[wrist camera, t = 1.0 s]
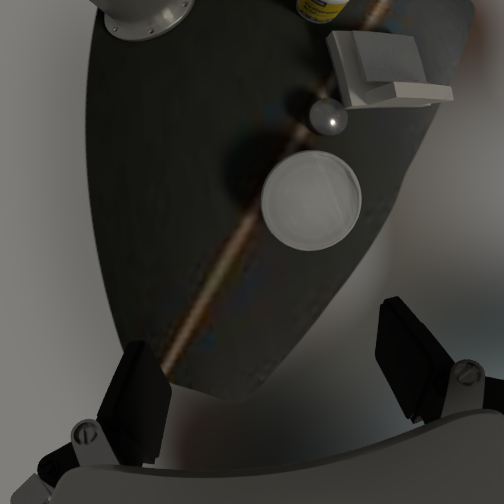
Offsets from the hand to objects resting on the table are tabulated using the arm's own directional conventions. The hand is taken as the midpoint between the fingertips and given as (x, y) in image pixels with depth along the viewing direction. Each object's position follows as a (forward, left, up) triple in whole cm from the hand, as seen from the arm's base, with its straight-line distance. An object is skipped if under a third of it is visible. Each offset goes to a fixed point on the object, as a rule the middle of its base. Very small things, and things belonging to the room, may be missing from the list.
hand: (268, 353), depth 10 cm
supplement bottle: (-26, +14, -26) cm, 39 cm away
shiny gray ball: (-10, +11, -26) cm, 29 cm away
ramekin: (-1, +7, -26) cm, 27 cm away
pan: (-16, +20, -22) cm, 34 cm away
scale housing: (-16, +20, -26) cm, 36 cm away
